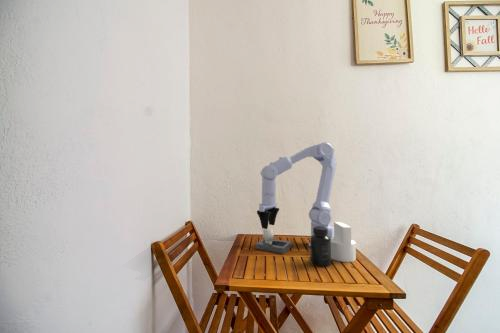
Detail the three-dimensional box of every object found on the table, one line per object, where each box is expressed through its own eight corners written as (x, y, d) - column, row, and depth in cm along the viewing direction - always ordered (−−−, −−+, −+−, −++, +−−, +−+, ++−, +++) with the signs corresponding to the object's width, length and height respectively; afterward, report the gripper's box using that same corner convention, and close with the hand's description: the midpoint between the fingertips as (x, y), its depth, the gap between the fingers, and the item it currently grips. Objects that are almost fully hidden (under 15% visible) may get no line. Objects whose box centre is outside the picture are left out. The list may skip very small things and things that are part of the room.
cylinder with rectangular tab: (326, 252, 88) (326, 221, 88) (349, 253, 88) (349, 222, 88) (334, 261, 79) (334, 227, 79) (360, 262, 79) (360, 227, 79)
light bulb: (275, 246, 94) (275, 229, 95) (270, 249, 91) (270, 231, 91) (265, 244, 97) (266, 228, 97) (260, 247, 93) (261, 230, 93)
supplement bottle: (331, 261, 79) (331, 226, 80) (331, 268, 73) (331, 231, 73) (310, 258, 81) (311, 225, 82) (309, 265, 75) (309, 229, 75)
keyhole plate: (291, 246, 94) (291, 241, 94) (283, 253, 85) (283, 248, 85) (265, 242, 100) (265, 237, 100) (255, 248, 91) (255, 243, 91)
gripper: (266, 192, 103) (266, 222, 102) (252, 194, 90) (252, 228, 89) (281, 193, 99) (281, 224, 99) (268, 195, 87) (268, 231, 86)
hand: (268, 226), depth 94 cm, fingers open, 7 cm apart
